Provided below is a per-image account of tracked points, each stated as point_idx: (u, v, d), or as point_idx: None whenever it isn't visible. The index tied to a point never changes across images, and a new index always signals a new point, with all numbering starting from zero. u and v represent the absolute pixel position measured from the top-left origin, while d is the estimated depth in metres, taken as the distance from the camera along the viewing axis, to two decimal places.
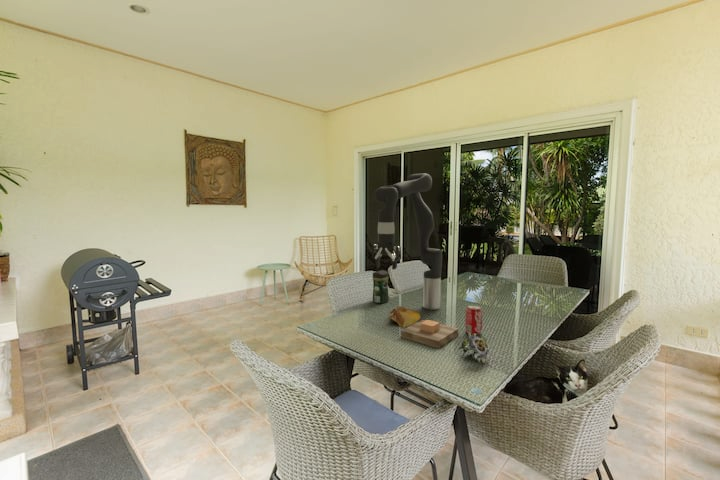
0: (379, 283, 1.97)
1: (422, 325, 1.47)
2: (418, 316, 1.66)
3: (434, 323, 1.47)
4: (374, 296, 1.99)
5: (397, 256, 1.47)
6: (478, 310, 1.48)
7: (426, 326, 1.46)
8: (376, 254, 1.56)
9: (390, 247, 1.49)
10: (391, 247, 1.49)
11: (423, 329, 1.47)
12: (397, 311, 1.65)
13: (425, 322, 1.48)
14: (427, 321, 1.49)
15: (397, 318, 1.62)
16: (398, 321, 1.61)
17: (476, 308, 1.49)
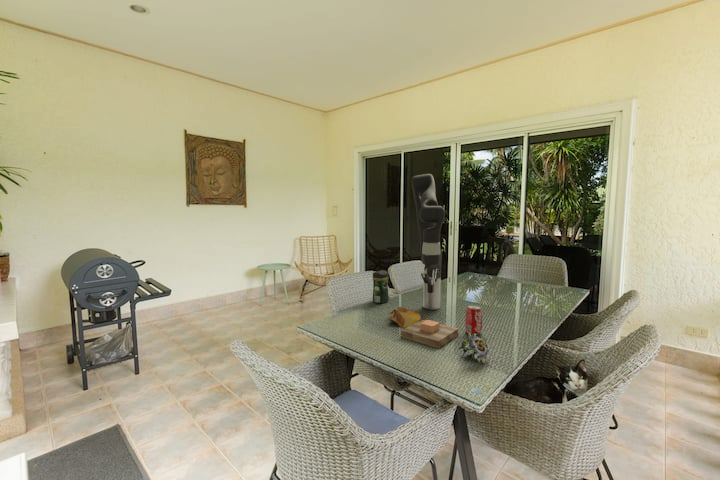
0: (379, 283, 1.97)
1: (422, 325, 1.47)
2: (419, 317, 1.65)
3: (434, 323, 1.47)
4: (374, 296, 1.99)
5: (436, 278, 1.48)
6: (478, 310, 1.48)
7: (426, 326, 1.46)
8: (425, 279, 1.44)
9: (436, 267, 1.47)
10: (437, 267, 1.47)
11: (423, 329, 1.47)
12: (397, 312, 1.65)
13: (425, 322, 1.48)
14: (427, 321, 1.49)
15: (398, 319, 1.61)
16: (399, 322, 1.60)
17: (476, 308, 1.49)
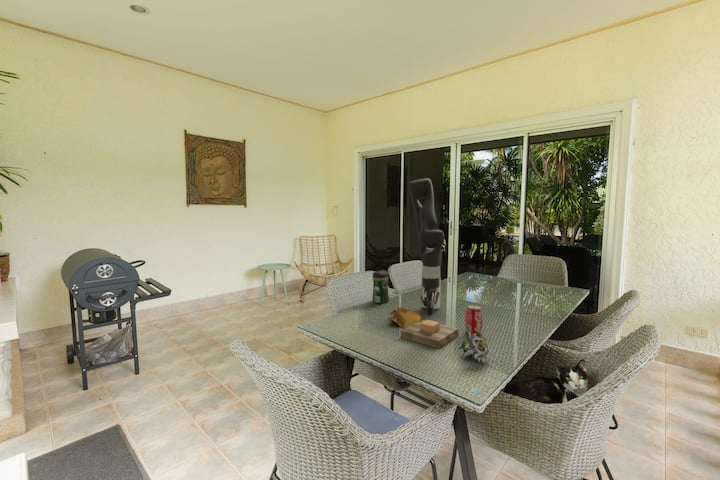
0: (379, 283, 1.97)
1: (422, 325, 1.47)
2: (419, 317, 1.64)
3: (434, 323, 1.47)
4: (374, 296, 1.99)
5: (436, 301, 1.49)
6: (478, 310, 1.48)
7: (426, 326, 1.46)
8: None
9: (436, 289, 1.48)
10: (436, 290, 1.48)
11: (423, 329, 1.47)
12: (398, 312, 1.64)
13: (425, 322, 1.48)
14: (427, 321, 1.49)
15: (398, 320, 1.61)
16: (399, 322, 1.60)
17: (476, 308, 1.49)
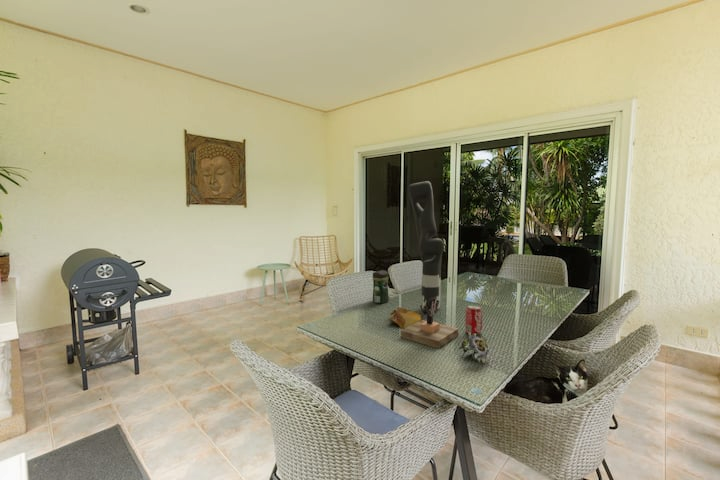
0: (379, 283, 1.97)
1: (422, 326, 1.47)
2: (419, 317, 1.64)
3: (434, 324, 1.47)
4: (374, 296, 1.99)
5: (436, 309, 1.49)
6: (478, 310, 1.48)
7: (426, 327, 1.46)
8: None
9: (436, 298, 1.48)
10: (436, 298, 1.49)
11: (423, 330, 1.47)
12: (398, 312, 1.64)
13: (425, 323, 1.48)
14: None
15: (398, 320, 1.60)
16: (399, 323, 1.59)
17: (476, 308, 1.49)
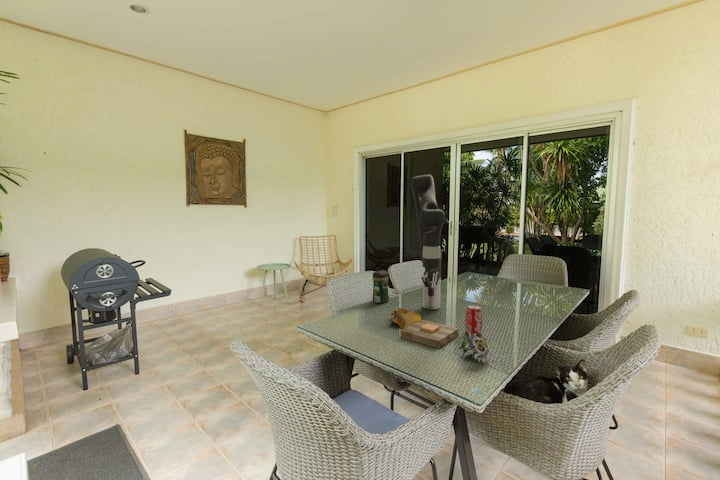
0: (379, 283, 1.97)
1: (422, 329, 1.47)
2: (419, 318, 1.63)
3: (434, 327, 1.47)
4: (374, 296, 1.99)
5: (437, 282, 1.48)
6: (478, 310, 1.48)
7: (426, 330, 1.46)
8: None
9: (437, 270, 1.47)
10: (437, 271, 1.47)
11: None
12: (398, 313, 1.63)
13: (425, 326, 1.48)
14: (427, 325, 1.50)
15: (398, 320, 1.59)
16: (399, 323, 1.59)
17: (476, 308, 1.49)
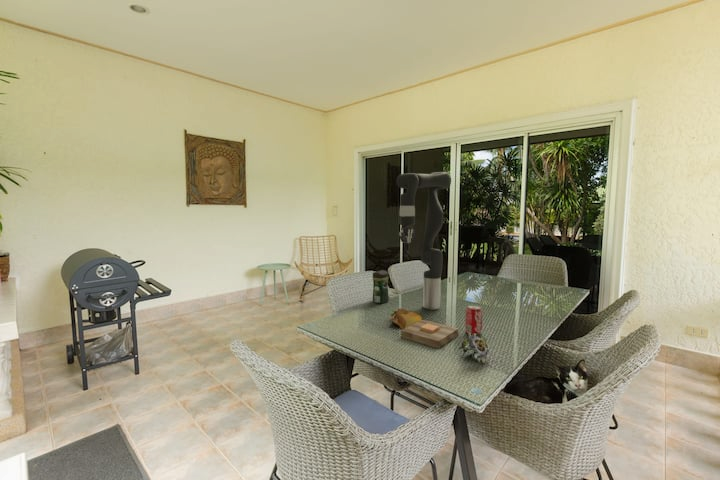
0: (379, 283, 1.97)
1: (422, 329, 1.47)
2: (420, 318, 1.62)
3: (434, 327, 1.47)
4: (374, 296, 1.99)
5: (412, 238, 1.68)
6: (478, 310, 1.48)
7: (426, 330, 1.46)
8: None
9: (412, 228, 1.67)
10: (412, 228, 1.68)
11: None
12: (398, 313, 1.62)
13: (425, 326, 1.48)
14: (427, 325, 1.50)
15: (399, 321, 1.58)
16: (400, 324, 1.58)
17: (476, 308, 1.49)
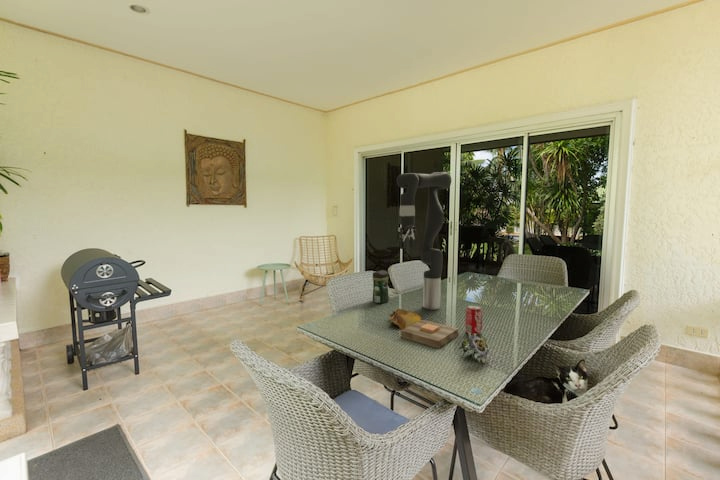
0: (379, 283, 1.97)
1: (422, 329, 1.47)
2: (419, 319, 1.62)
3: (434, 327, 1.47)
4: (374, 296, 1.99)
5: (416, 234, 1.70)
6: (478, 310, 1.48)
7: (426, 330, 1.46)
8: (398, 237, 1.62)
9: (412, 227, 1.67)
10: (412, 227, 1.68)
11: None
12: (398, 314, 1.61)
13: (425, 326, 1.48)
14: (427, 325, 1.50)
15: (398, 322, 1.58)
16: (399, 324, 1.57)
17: (476, 308, 1.49)
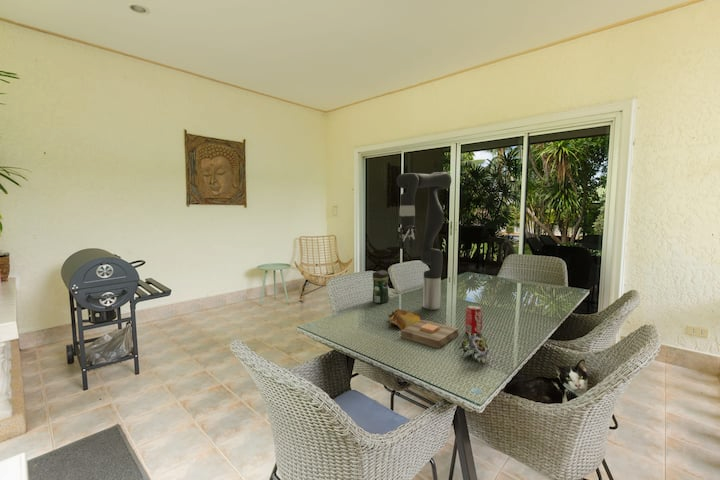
0: (379, 283, 1.97)
1: (422, 329, 1.47)
2: (418, 319, 1.62)
3: (434, 327, 1.47)
4: (374, 296, 1.99)
5: (416, 234, 1.70)
6: (478, 310, 1.48)
7: (426, 330, 1.46)
8: (398, 237, 1.62)
9: (412, 227, 1.67)
10: (412, 227, 1.68)
11: None
12: (397, 314, 1.61)
13: (425, 326, 1.48)
14: (427, 325, 1.50)
15: (398, 322, 1.57)
16: (399, 325, 1.56)
17: (476, 308, 1.49)
